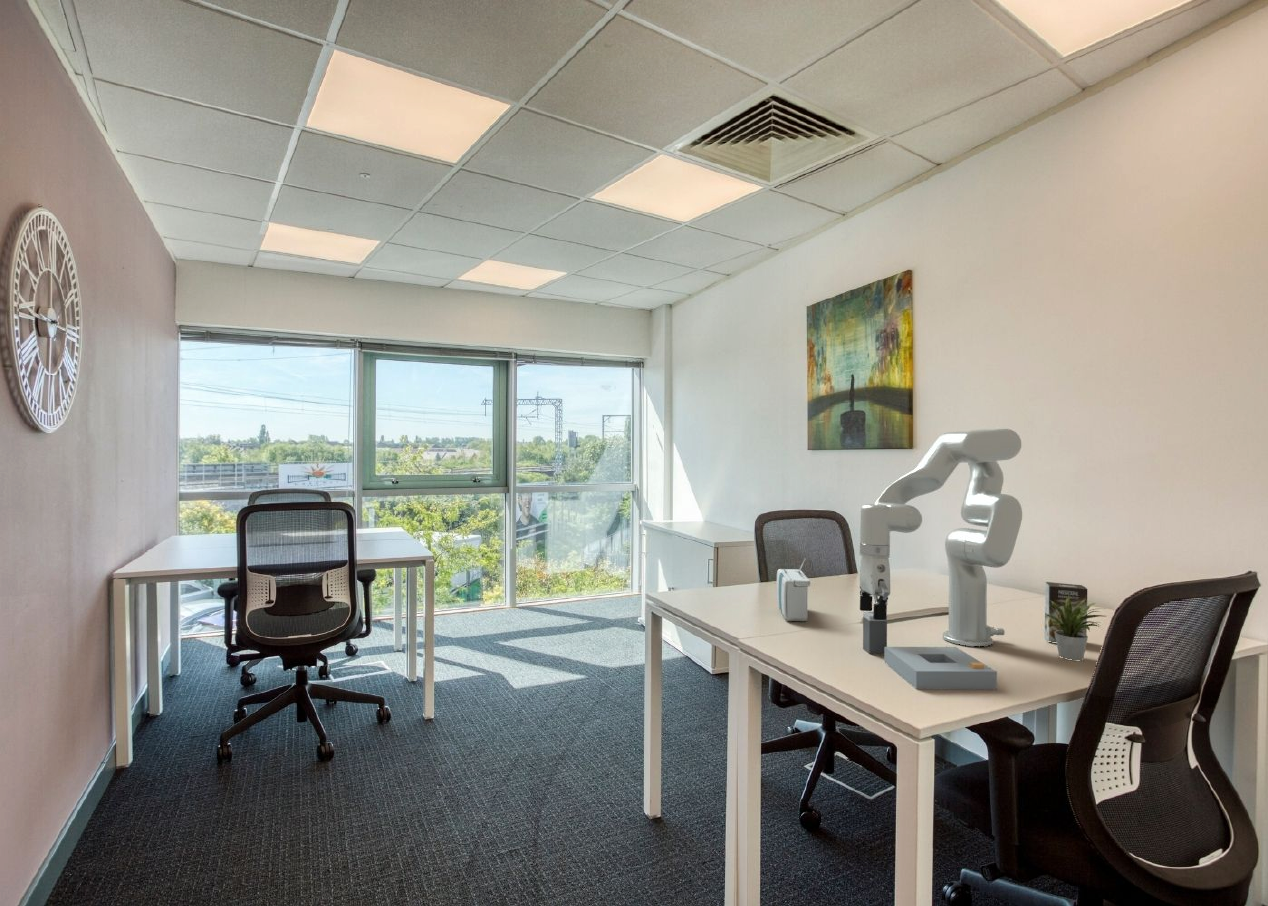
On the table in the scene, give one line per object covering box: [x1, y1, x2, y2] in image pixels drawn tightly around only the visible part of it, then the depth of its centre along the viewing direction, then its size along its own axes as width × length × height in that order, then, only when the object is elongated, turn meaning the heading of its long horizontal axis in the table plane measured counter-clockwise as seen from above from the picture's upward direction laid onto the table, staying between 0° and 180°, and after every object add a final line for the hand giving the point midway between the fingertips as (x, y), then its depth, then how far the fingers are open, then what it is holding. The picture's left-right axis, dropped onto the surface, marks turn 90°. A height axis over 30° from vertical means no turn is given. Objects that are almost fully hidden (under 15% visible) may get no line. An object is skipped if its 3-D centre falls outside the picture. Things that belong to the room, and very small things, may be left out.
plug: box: [862, 611, 888, 655], centre depth 169 cm, size 5×5×10 cm
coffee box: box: [1044, 581, 1088, 642], centre depth 178 cm, size 9×6×16 cm
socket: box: [883, 646, 998, 690], centre depth 151 cm, size 18×18×5 cm
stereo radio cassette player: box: [776, 557, 811, 622], centre depth 208 cm, size 21×8×20 cm, turn 174°
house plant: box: [1046, 594, 1106, 660], centre depth 163 cm, size 14×14×16 cm
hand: (872, 615), depth 169 cm, fingers open, 9 cm apart
